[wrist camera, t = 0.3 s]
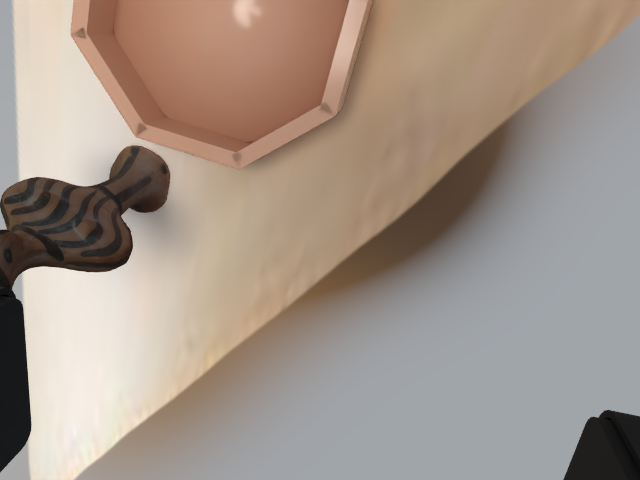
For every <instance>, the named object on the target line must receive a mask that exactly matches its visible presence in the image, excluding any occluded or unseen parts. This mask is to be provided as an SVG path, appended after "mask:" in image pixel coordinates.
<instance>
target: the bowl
mask: <svg viewBox="0 0 640 480" xmlns="http://www.w3.org/2000/svg"><path fill="white" fill-rule="evenodd" d="M372 2H373V0H74V2H73V13H72V24H71V37H72V38H73V40H74V41H75V43H76V45H77V46H78V48H79V49H80V51H81V52H82V54H83V56H84V57H85V59H86V60H87V62H88V63H89V65H90V66H91V68H92V70H93V71H94V73H95V74H96V76H97V77H98V79H99V81H100V82H101V84H102V85H103V87H104V88H105V90H106V91H107V93H108V95H109V96H110V98H111V99H112V101H113V102H114V104H115V106H116V107H117V109H118V110H119V112H120V113H121V115H122V116H123V118H124V120H125V121H126V123H127V124H128V126H129V127H130V129H131V131H132V132H133V134H134V135H135V137H137V138H140V139H144V140H147V141H150V142H153V143H156V144H160V145H163V146H166V147H169V148H172V149H176V150H179V151H182V152H185V153H188V154H192V155H195V156H198V157H201V158H204V159H208V160H211V161H214V162H217V163H220V164H224V165H227V166H230V167H233V168H236V169H241V168H243V167H244V166H246V165H248V164H250V163H252V162H253V161H255V160H257V159H259V158H261V157H262V156H264V155H266V154H268V153H270V152H271V151H273V150H275V149H277V148H279V147H280V146H282V145H284V144H286V143H288V142H289V141H291V140H293V139H295V138H297V137H298V136H300V135H302V134H304V133H306V132H308V131H309V130H311V129H313V128H315V127H317V126H318V125H320V124H322V123H324V122H326V121H327V120H329V119H331V118H333V117H335V116H336V114H337V113H338V112H339V111H340V110H341V109H342V107H343V103H344V100H345V96H346V93H347V89H348V86H349V83H350V79H351V76H352V72H353V69H354V65H355V62H356V58H357V55H358V51H359V48H360V44H361V41H362V37H363V34H364V30H365V27H366V23H367V20H368V16H369V13H370V9H371V6H372Z"/></svg>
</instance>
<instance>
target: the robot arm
mask: <svg viewBox="0 0 640 480" xmlns="http://www.w3.org/2000/svg"><path fill="white" fill-rule="evenodd" d="M30 432H31V413H30V399H29V385H28V370H27V356H26V342H25V328H24V314H23V306H22V303H21V301H20V300H18V299H16V296H15V294H14V292H13V291H12V290H10V289H9V288H4V287H0V472H1V471H2V470H3V469H4V468H5V467H6V466H7V464H8V463H9V462H10V461H11V460H12V459H13V458H14V457H15V456H16V455H17V454H18V453H19V452H20V451H21V449H22V448H23V447H24V446H25V444H26V442H27V440H28V438H29V435H30ZM564 480H640V417H639V416H635V415H630V414H625V413H620V412H615V411H610V410H606V411H604V412H603V413H602V414H601V415H600V416H599V418H596V417H591V418H590V419H589V420H588V421H587V423H586V425H585V427H584V430H583V433H582V435H581V437H580V440H579V442H578V445H577V447H576V450H575V452H574V455H573V457H572V460H571V462H570V465H569V467H568V470H567V473H566V475H565V478H564Z"/></svg>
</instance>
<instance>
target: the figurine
mask: <svg viewBox="0 0 640 480" xmlns="http://www.w3.org/2000/svg"><path fill="white" fill-rule="evenodd" d="M169 178H170V176H169V170H168V167H167V165H166V164H165V162H164V161H163V160H162V159H161V158H160V157H159V156H158V155H156V154H155V153H153V152H152V151H150V150H148V149H146V148H143V147H141V146H129V147H126V148H125V149H123V150H122V151H121V153H120V154H119V155H118V157H117V159H116V161H115V162H114V164H113V165H112V168H111V171H110V177H109V180H108V181H105V182H103V183H100V184H98V185H94V186H88V187H82V186H76V185H72V184H69V183H66V182H63V181H60V180H55V179H50V178H42V177H35V178H30V179H26V180H23V181H21V182H18V183H16V184H14V185H12V186H11V187H9V188H8V189H7V190H6V191H5V192H4V193H3V195H2V198H1V202H0V208H1V212H2V214H3V218H4V220H5V223H6V227H7V230H0V287H4V288H9V289H10V290H12V286H13V284H14V281H15V280H16V278H17V276H18V275H19V274H21V273H22V272H23V271H25V270H27V269H29V268H34V267H41V266H48V267H59V268H66V269H71V270H76V271H85V272H106V271H111V270H113V269H116V268H118V267H120V266H122V265H124V264H125V263H126V262H127V261H128V259H129V257H130V255H131V252H132V247H133V242H132V236H131V231H130V229H129V227H128V226H127V225H126V223H125V222H124V221H123V219H122V218H121V215H122V214H123V213H124V212H125V211H126V210H127V209H128V208H129V207H130V208H131V209H134V210H135V211H137V212H143V213H146V212H154V211H156V210H157V209H159V208H160V207H162V205H163V204H164V203H165V201H166V199H167V194H168V187H169V183H170V182H169Z"/></svg>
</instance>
